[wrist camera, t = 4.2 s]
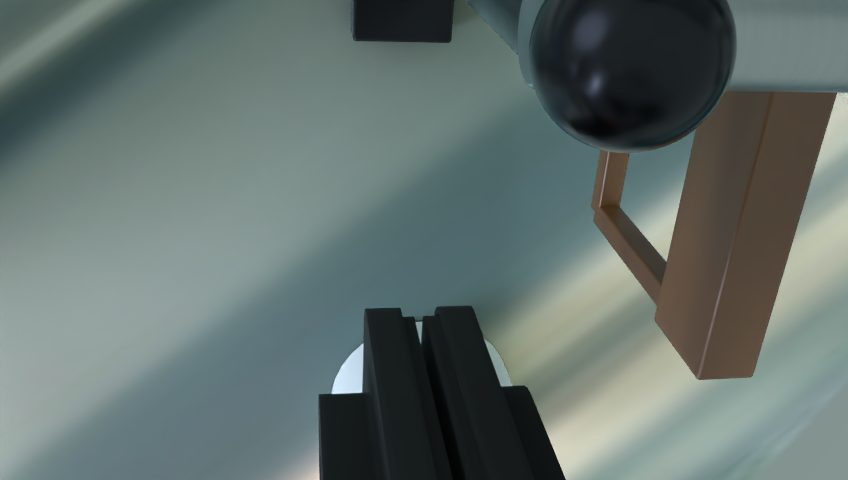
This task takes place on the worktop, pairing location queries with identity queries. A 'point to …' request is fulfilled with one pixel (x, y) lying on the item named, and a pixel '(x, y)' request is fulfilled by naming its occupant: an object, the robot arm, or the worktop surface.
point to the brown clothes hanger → (724, 226)
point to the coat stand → (640, 55)
